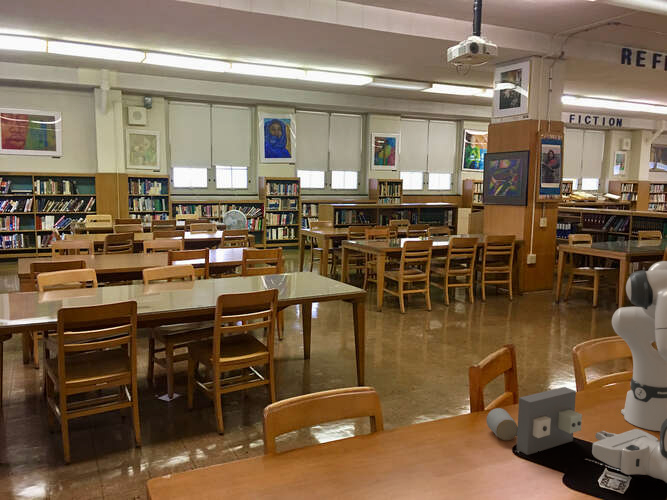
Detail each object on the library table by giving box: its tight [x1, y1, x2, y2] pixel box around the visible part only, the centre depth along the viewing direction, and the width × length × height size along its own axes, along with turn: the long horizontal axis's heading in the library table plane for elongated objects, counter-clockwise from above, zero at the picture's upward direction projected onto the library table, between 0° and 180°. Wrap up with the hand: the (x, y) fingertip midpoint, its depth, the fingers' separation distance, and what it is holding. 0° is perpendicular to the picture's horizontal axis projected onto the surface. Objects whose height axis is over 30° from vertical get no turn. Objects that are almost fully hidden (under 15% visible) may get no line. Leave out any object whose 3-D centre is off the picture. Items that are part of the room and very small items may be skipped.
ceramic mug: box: [486, 407, 518, 441], centre depth 164 cm, size 11×8×8 cm
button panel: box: [516, 386, 577, 456], centre depth 158 cm, size 20×4×16 cm, turn 118°
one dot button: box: [532, 416, 551, 438], centre depth 154 cm, size 5×5×5 cm
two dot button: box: [558, 409, 583, 434], centre depth 157 cm, size 5×5×5 cm
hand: (598, 434), depth 149 cm, fingers closed
